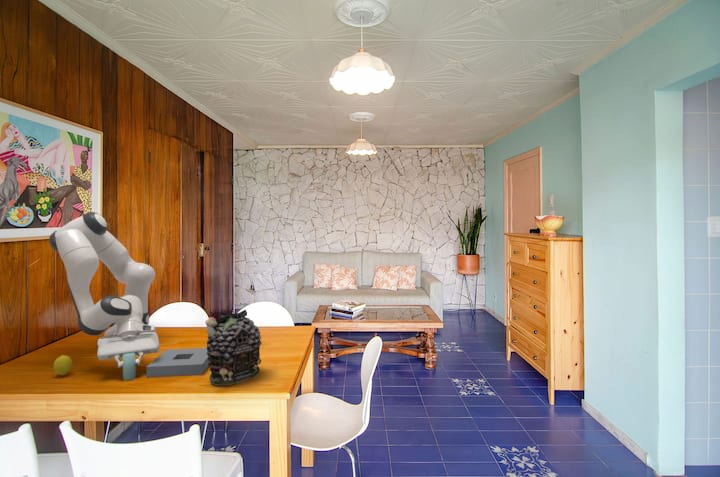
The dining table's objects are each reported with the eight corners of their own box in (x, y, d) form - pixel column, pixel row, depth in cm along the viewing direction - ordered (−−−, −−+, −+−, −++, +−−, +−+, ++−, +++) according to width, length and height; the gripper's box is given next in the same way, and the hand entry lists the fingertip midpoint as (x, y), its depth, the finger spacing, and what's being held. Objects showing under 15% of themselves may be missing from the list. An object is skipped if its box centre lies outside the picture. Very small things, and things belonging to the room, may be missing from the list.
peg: (121, 380, 140) (120, 356, 139) (126, 376, 144) (125, 352, 143) (132, 380, 140) (132, 355, 140) (137, 375, 144) (137, 352, 144)
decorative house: (218, 392, 130) (217, 319, 129) (198, 380, 140) (197, 312, 139) (270, 375, 145) (270, 309, 144) (249, 365, 155) (248, 304, 154)
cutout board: (146, 377, 143) (146, 366, 143) (166, 359, 163) (166, 349, 162) (202, 374, 145) (202, 364, 145) (215, 356, 165) (215, 347, 165)
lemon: (60, 373, 147) (59, 352, 147) (75, 372, 147) (75, 352, 147) (50, 379, 141) (49, 357, 141) (65, 378, 142) (65, 357, 142)
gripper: (97, 332, 143) (94, 366, 134) (158, 325, 152) (159, 357, 144) (98, 341, 147) (96, 374, 138) (159, 333, 156) (159, 365, 148)
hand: (129, 365), depth 141 cm, fingers closed on peg, 4 cm apart
